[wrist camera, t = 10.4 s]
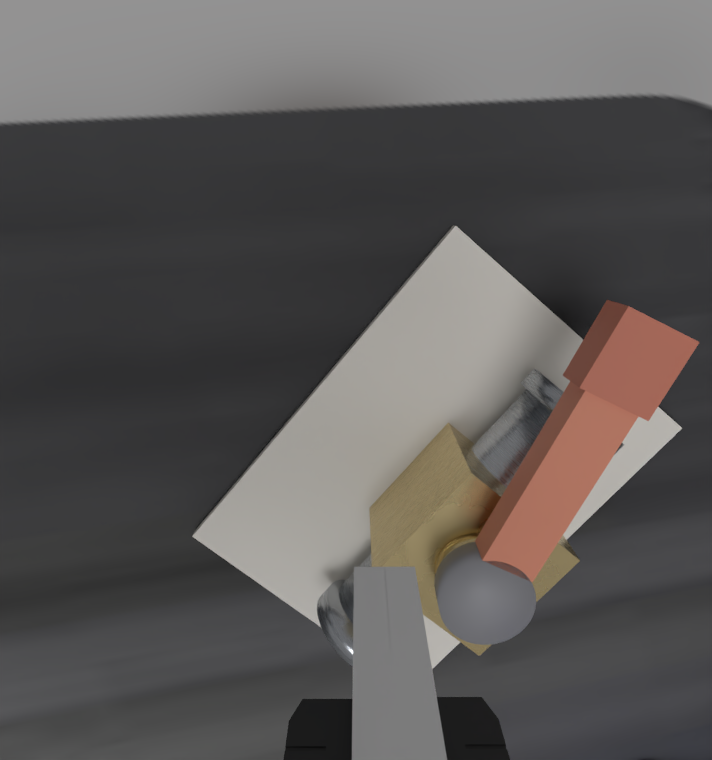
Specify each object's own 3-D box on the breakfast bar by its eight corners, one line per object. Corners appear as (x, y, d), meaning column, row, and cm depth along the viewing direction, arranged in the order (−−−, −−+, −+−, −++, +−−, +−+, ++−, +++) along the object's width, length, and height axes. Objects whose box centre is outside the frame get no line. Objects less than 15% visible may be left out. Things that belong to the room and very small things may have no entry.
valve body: (312, 569, 41) (300, 660, 32) (514, 351, 37) (561, 389, 28) (398, 631, 42) (408, 735, 33) (602, 427, 38) (673, 486, 29)
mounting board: (196, 529, 41) (192, 536, 40) (453, 225, 36) (455, 225, 35) (409, 680, 44) (410, 690, 43) (673, 423, 39) (682, 428, 38)
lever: (595, 293, 27) (616, 300, 25) (683, 338, 27) (711, 348, 25) (418, 598, 31) (422, 625, 29) (496, 631, 31) (506, 660, 29)
